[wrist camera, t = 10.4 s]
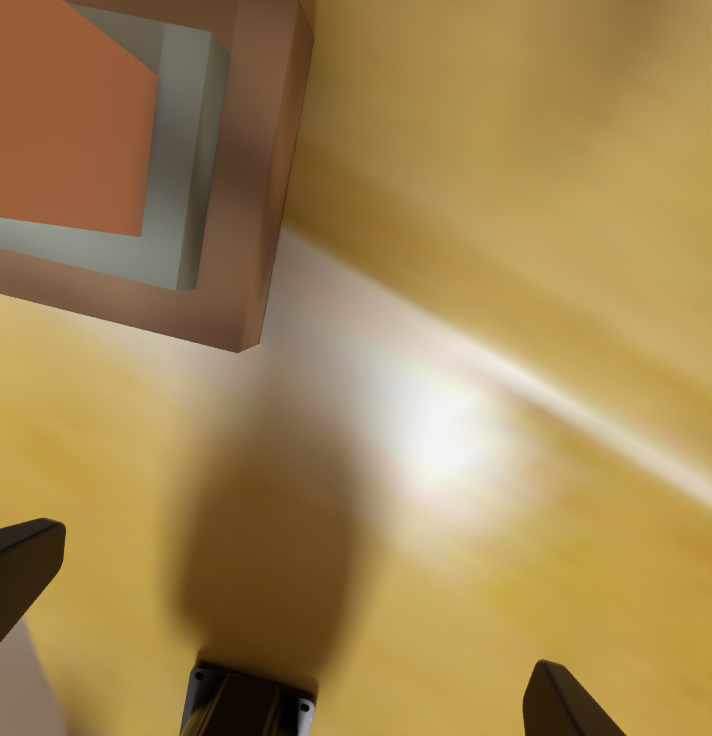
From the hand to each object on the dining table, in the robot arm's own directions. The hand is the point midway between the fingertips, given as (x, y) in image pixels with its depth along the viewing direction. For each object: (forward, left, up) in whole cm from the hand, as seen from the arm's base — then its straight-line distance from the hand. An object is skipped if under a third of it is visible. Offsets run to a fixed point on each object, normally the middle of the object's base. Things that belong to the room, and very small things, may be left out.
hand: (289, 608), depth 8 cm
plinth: (+8, +11, -12) cm, 18 cm away
